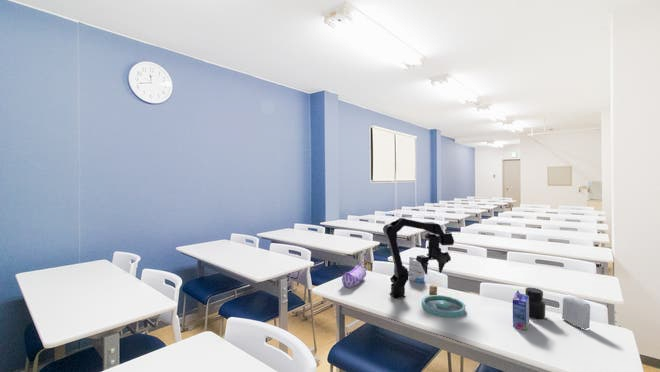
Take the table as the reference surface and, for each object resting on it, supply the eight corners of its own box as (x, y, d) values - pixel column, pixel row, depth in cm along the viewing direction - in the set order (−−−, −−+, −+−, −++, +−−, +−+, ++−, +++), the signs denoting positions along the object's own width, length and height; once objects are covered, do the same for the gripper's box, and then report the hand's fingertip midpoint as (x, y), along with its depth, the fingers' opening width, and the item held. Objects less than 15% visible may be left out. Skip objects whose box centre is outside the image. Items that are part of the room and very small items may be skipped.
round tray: (439, 319, 136) (439, 314, 136) (414, 302, 155) (414, 297, 155) (474, 313, 142) (474, 308, 142) (446, 297, 161) (446, 293, 161)
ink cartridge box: (514, 318, 138) (515, 287, 137) (529, 322, 134) (530, 290, 134) (511, 326, 130) (512, 293, 129) (526, 330, 126) (527, 297, 126)
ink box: (424, 281, 186) (425, 258, 185) (420, 283, 183) (420, 259, 182) (413, 278, 192) (413, 255, 192) (408, 279, 189) (408, 256, 189)
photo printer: (591, 330, 127) (592, 301, 127) (583, 330, 127) (584, 302, 126) (568, 318, 138) (568, 292, 137) (560, 319, 137) (561, 292, 136)
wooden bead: (432, 296, 163) (432, 288, 163) (427, 293, 167) (427, 285, 167) (438, 295, 164) (438, 287, 164) (433, 292, 168) (434, 284, 168)
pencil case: (353, 276, 195) (353, 262, 194) (367, 278, 191) (367, 264, 191) (340, 288, 174) (340, 272, 174) (355, 290, 171) (356, 274, 170)
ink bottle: (544, 313, 143) (545, 288, 142) (547, 321, 135) (548, 295, 134) (520, 309, 147) (521, 285, 147) (522, 316, 139) (522, 291, 139)
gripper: (428, 250, 154) (427, 279, 155) (458, 247, 160) (457, 276, 160) (415, 245, 165) (415, 273, 165) (444, 243, 170) (443, 270, 171)
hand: (433, 273), depth 165 cm, fingers open, 9 cm apart
